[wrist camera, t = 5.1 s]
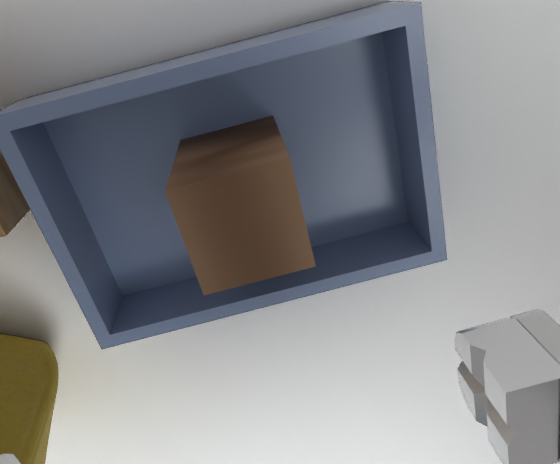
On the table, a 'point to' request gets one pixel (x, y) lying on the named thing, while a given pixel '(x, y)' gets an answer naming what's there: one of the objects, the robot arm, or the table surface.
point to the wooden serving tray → (10, 199)
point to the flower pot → (26, 397)
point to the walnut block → (238, 206)
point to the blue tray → (222, 114)
